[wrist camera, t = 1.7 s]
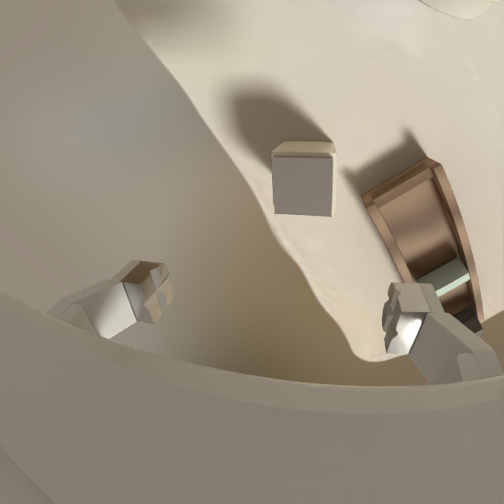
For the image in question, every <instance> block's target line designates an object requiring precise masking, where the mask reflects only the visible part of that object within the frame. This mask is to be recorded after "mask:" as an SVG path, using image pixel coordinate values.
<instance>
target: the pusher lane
mask: <svg viewBox="0 0 504 504" xmlns="http://www.w3.org/2000/svg"><path fill="white" fill-rule="evenodd" d="M362 199H363V202H364V204H365V207H366V209H367V211H368V213H369V214H370V216H371V218H372V220H373V221H374V223H375V225H376V227H377V229H378V231H379V232H380V234H381V236H382V238H383V240H384V242H385V244H386V246H387V248H388V249H389V251H390V253H391V255H392V257H393V259H394V261H395V264H396V266H397V268H398V270H399V272H400V274H401V276H402V278H403V280H404V283H417V282H416V280H417V279H419V278H421V277H423V276H425V275H427V274H429V273H431V272H433V271H434V270H436V269H438V268H440V267H442V266H443V265H445V264H447V263H449V262H450V261H452V260H454V259H456V258H457V257H459V259H460V260H461V262H462V263H463V265H464V266H465V268H466V269H467V271H468V272H469V276H470V279H469V280H468V281H466V282H464V283H463V284H461V285H459V286H457V287H455V288H454V289H452V290H450V291H448V292H446V293H445V294H443V295H441V296H439V297H438V298H439V300H440V303H441V305H442V307H443V310H444V312H445V313H449V314H450V315H452V316H453V317H454V318H456V319H457V320H458V321H459V322H461V323H462V324H463V325H464V326H466V327H467V328H468V329H469V330H471V331H472V332H473V333H474V334H476V335H477V336H479V335H481V334H483V329H482V327H481V324H480V322H482V321H484V314H483V306H482V299H481V293H480V287H479V282H478V277H477V272H476V267H475V263H474V258H473V254H472V250H471V246H470V243H469V239H468V236H467V232H466V229H465V225H464V222H463V219H462V216H461V213H460V210H459V207H458V204H457V202H456V199H455V196H454V194H453V191H452V188H451V186H450V183H449V181H448V178H447V176H446V174H445V171H444V169H443V167H442V165H441V164H440V163H438V162H436V161H434V160H432V159H430V158H428V157H427V158H425V159H423V160H422V161H420V162H418V163H417V164H415V165H413V166H412V167H410V168H408V169H406V170H405V171H403V172H401V173H400V174H398V175H396V176H395V177H393V178H391V179H389V180H388V181H386V182H384V183H383V184H381V185H379V186H378V187H376V188H374V189H372V190H371V191H369V192H367V193H366V194H364V195H362Z"/></svg>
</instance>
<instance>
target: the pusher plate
mask: <svg viewBox="0 0 504 504" xmlns="http://www.w3.org/2000/svg"><path fill="white" fill-rule="evenodd" d="M469 279H470V276H469V272H468V271H467V269H466V268H465V266H464V265H463V263H462V262H461V260H460V259H459V257H457V258H456V259H454V260H452V261H450V262H449V263H447V264H445V265H443V266H442V267H440V268H438V269H436V270H434V271H433V272H431V273H429V274H427V275H425V276H423V277H421V278H419V279H417V280H416V282H417V283H430V284H432V285H433V287H434V290H435V292H436V294H437V296H438V297H439V296H441V295H443V294H445V293H446V292H448V291H450V290H452V289H454V288H455V287H457V286H459V285H461V284H463V283H464V282H466V281H468V280H469Z"/></svg>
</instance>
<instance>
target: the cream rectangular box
mask: <svg viewBox="0 0 504 504" xmlns="http://www.w3.org/2000/svg"><path fill="white" fill-rule="evenodd" d="M271 161H272V184H273V209H274V214H292V215H311V216H328V217H331V215H335V198H336V166H337V153H336V149H335V146H334V143H333V142H318V141H284V142H283V143H282V144H280V145H279V146H278V147H276V148H275V149H274V150H272V151H271Z"/></svg>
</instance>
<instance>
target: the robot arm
mask: <svg viewBox="0 0 504 504" xmlns="http://www.w3.org/2000/svg"><path fill="white" fill-rule="evenodd" d="M421 1H422V2H424V3H426V4H427V5H429V6H431V7H433V8H434V9H436V10H438V11H441V12H443V13H445V14H448V15H451V16H454V17H458V18H463V19H473V18H477V17H479V16H481V15H482V14H483V13H484V12H485V11H486V9H487V8H488V7H489V5H490V4H492V3H496V2H498V1H499V0H421ZM168 275H169V271H168V268H167V266H166V265H165V264H164V263H156V262H149V261H141V260H132V261H130V262H129V263H128V264H127V265H126V266H125V267H124V268H122V269H121V270H120V271H119V272H118V273H117V274H116V275H115V276H114V277H113V278H111V279H110V280H108V279H107V280H105V281H102V282H100V283H97V284H95V285H92V286H90V287H87V288H85V289H82V290H80V291H77V292H75V293H72V294H70V295H68V296H66V297H63V298H61V299H60V300H59V301H58V302H57V303H56V304H54V305H53V306H52V307H51V308H50V309H49V310H48V311H47V312H46V313H44V312H42V311H40V310H38V309H36V308H34V307H32V306H30V305H28V304H26V303H24V302H22V301H20V300H18V299H16V298H14V297H13V296H11V295H9V294H7V293H5V292H0V504H504V375H503V372H502V369H501V367H500V364H499V361H498V359H497V356H496V354H495V351H494V350H493V349H492V348H491V347H490V346H489V345H487V344H486V343H485V342H484V341H483V340H482V339H480V338H479V337H478V336H477V335H476V334H474V333H473V332H472V331H471V330H469V329H468V328H467V327H466V326H464V325H463V324H462V323H461V322H459V321H458V320H457V319H456V318H454V317H453V316H452V315H450V314H449V313H445V312H444V310H443V307H442V305H441V303H440V300H439V298H438V296H437V294H436V292H435V290H434V287H433V285H432V284H430V283H391V284H390V286H389V289H388V296H389V300H388V301H387V302H386V303H385V304H384V308H383V314H382V327H383V330H384V331H385V332H386V335H385V338H384V341H385V348H386V354H409V356H410V358H411V359H412V360H413V362H414V363H415V364H416V365H417V367H418V368H419V369H420V371H421V372H422V373H423V374H424V376H425V377H426V378H427V380H428V381H429V383H430V384H431V385H422V386H421V385H420V386H397V387H396V386H392V387H372V386H371V387H370V386H366V387H365V386H342V385H341V386H340V385H327V384H315V383H304V382H295V381H286V380H279V379H271V378H265V377H258V376H252V375H245V374H240V373H235V372H229V371H224V370H219V369H215V368H210V367H205V366H200V365H196V364H192V363H188V362H184V361H180V360H176V359H172V358H168V357H165V356H161V355H158V354H154V353H151V352H147V351H144V350H141V349H137V348H134V347H131V346H128V345H125V344H122V343H119V342H116V341H113V340H111V339H109V338H111V337H112V336H114V335H116V334H117V333H119V332H120V331H122V330H124V329H125V328H127V327H128V326H130V325H132V324H133V323H135V322H136V321H137V320H138V321H142V322H147V323H152V324H155V322H156V321H157V320H158V318H159V317H160V316H161V314H162V308H164V307H166V306H168V305H169V303H170V302H171V299H172V296H173V286H172V283H171V282H170V281H169V280H168V278H167V277H168Z"/></svg>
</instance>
